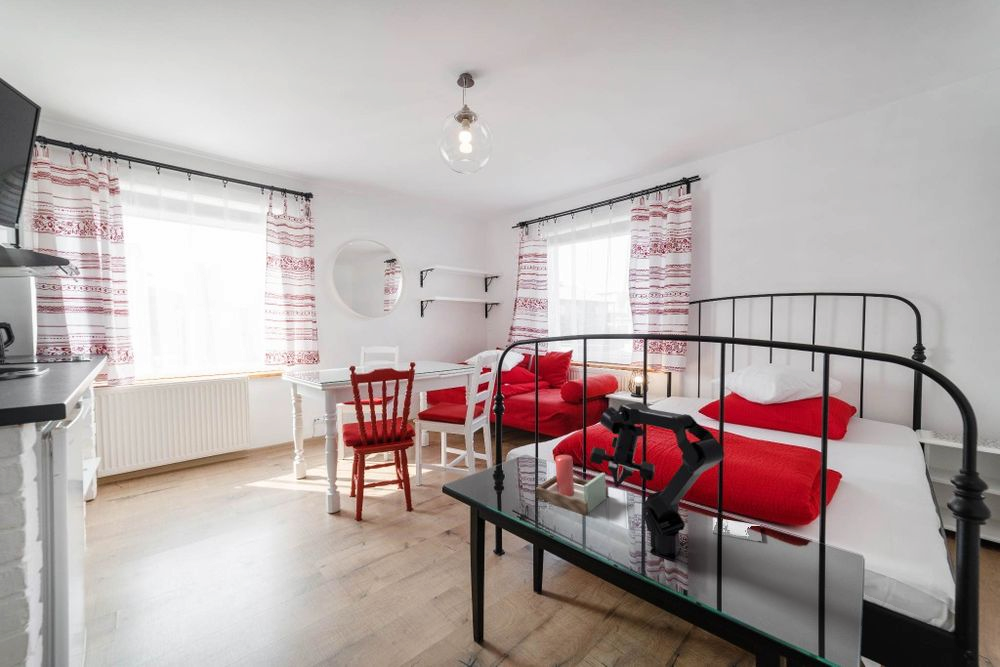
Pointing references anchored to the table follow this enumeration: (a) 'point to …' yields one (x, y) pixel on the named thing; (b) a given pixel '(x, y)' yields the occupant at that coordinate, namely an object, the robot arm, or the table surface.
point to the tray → (588, 491)
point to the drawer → (563, 496)
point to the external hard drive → (735, 527)
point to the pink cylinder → (564, 475)
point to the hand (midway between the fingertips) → (616, 486)
